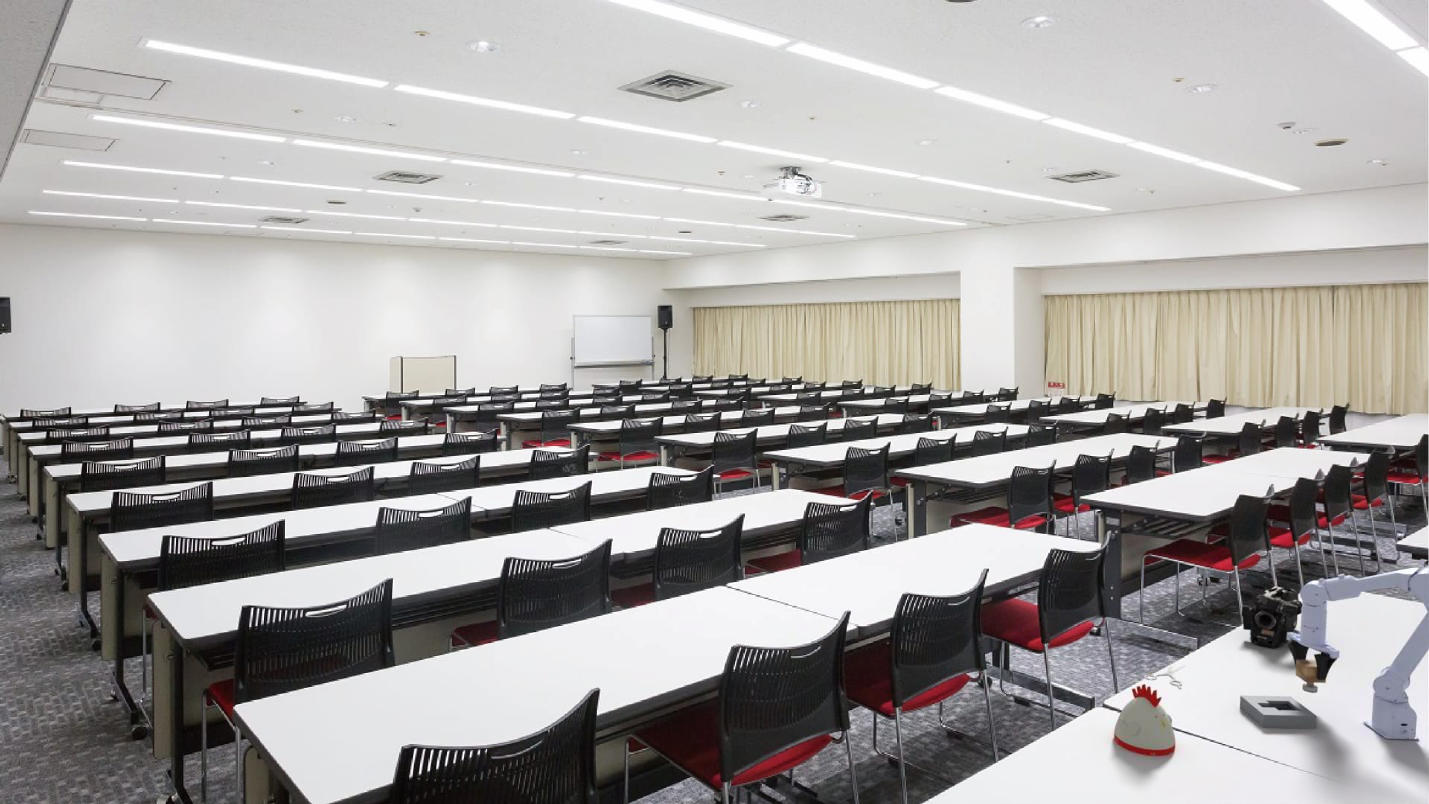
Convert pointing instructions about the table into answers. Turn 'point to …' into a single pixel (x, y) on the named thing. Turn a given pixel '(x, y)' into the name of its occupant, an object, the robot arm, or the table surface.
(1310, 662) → the peg
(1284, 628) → the movie camera
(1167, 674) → the scissors
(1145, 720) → the kitchen timer
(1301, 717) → the square hole plate
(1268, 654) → the table surface
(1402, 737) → the robot arm
